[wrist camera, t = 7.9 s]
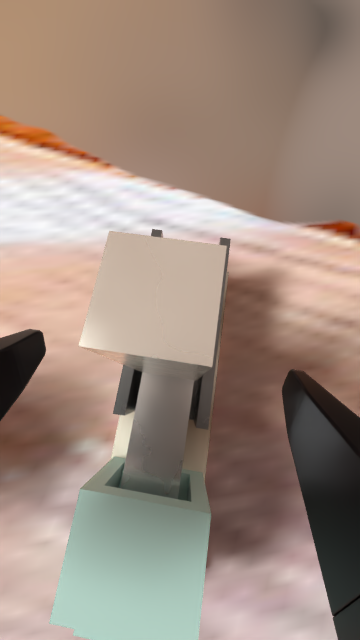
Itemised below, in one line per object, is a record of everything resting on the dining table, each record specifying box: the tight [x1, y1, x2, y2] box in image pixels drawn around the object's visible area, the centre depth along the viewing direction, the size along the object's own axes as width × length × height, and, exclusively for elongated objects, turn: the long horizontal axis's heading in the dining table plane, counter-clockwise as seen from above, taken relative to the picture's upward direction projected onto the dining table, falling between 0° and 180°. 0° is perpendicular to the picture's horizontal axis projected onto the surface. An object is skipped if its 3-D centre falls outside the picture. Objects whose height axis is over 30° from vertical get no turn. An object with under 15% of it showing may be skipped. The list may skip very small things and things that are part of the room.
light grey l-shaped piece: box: [79, 231, 227, 499], centre depth 10 cm, size 12×3×11 cm, turn 171°
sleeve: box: [113, 229, 230, 430], centre depth 16 cm, size 11×5×4 cm, turn 171°
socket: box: [49, 457, 211, 640], centre depth 12 cm, size 5×6×5 cm
